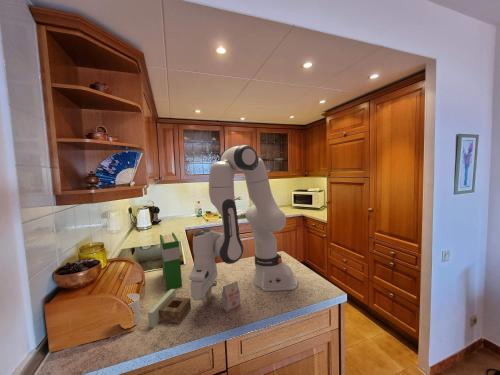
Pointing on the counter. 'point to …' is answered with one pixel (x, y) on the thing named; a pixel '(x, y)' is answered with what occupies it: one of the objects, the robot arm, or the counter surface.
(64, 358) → the counter surface
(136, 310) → the white cup
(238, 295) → the tea bag
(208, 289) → the dowel
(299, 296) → the counter surface
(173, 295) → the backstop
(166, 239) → the hardback book
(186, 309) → the block
